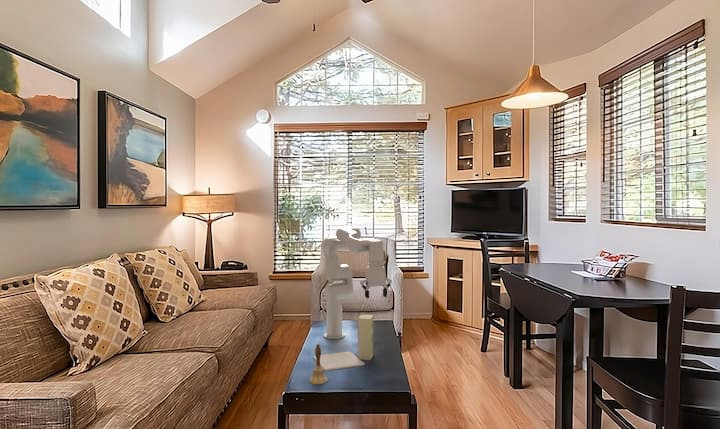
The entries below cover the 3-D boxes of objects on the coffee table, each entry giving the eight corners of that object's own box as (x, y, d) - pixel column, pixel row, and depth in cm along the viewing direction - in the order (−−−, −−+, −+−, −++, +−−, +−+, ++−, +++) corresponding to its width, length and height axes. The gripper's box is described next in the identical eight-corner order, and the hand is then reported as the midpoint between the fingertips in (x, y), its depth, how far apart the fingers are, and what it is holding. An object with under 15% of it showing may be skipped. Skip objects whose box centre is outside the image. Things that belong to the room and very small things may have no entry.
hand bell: (306, 383, 187) (306, 346, 186) (313, 376, 195) (313, 341, 195) (324, 385, 184) (324, 348, 184) (330, 378, 192) (330, 342, 192)
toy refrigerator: (372, 360, 215) (372, 318, 215) (357, 359, 216) (357, 318, 216) (374, 355, 223) (374, 315, 223) (360, 354, 224) (360, 314, 224)
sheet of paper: (313, 357, 220) (313, 356, 220) (349, 352, 227) (349, 351, 227) (324, 371, 201) (324, 369, 201) (364, 365, 208) (364, 363, 208)
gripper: (388, 262, 226) (388, 294, 226) (357, 263, 220) (357, 297, 220) (394, 264, 219) (394, 297, 219) (362, 265, 213) (362, 300, 213)
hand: (376, 297), depth 220 cm, fingers open, 9 cm apart
